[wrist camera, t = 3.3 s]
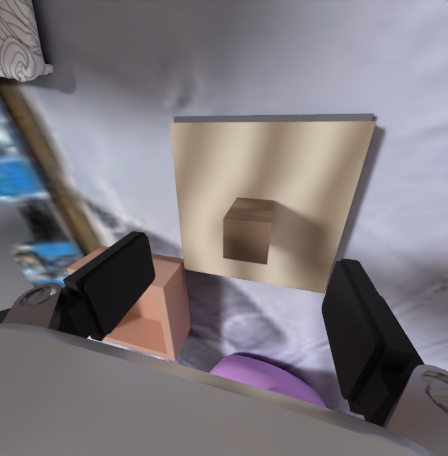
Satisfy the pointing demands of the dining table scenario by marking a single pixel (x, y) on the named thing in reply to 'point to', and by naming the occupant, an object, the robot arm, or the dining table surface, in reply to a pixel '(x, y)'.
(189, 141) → the lid
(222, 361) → the teapot
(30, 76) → the cookie jar
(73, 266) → the dish
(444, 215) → the dining table surface
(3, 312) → the robot arm
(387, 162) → the dining table surface
